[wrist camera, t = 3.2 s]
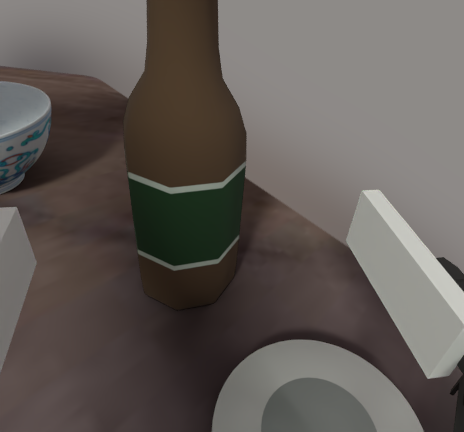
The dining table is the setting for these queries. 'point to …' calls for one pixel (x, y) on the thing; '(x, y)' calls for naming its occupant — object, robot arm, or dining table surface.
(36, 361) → the dining table surface
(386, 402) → the plinth
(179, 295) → the beer bottle
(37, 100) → the chinaware
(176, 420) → the dining table surface
